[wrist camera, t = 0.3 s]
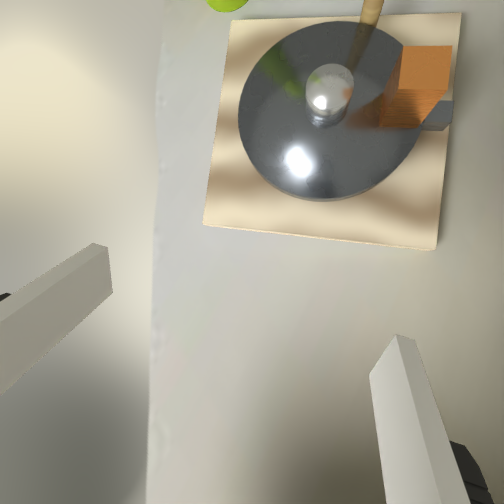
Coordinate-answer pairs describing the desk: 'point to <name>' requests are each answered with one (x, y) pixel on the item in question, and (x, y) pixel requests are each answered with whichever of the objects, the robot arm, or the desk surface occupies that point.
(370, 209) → the post base
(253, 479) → the desk surface
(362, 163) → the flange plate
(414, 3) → the desk surface
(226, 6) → the soap dispenser
